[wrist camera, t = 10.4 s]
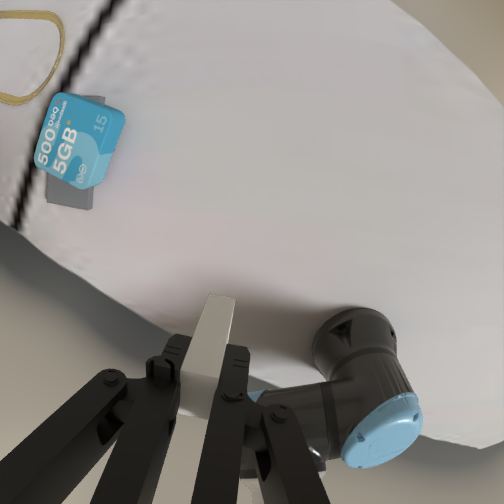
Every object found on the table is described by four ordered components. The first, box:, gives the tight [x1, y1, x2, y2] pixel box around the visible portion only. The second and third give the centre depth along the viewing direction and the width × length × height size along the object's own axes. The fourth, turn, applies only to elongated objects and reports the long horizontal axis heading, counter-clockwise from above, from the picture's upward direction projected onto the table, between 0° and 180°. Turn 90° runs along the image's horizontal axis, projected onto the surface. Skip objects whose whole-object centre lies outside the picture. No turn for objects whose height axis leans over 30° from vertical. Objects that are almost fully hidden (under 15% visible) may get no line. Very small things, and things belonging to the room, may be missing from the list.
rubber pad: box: [47, 96, 105, 210], centre depth 42 cm, size 18×9×2 cm, turn 169°
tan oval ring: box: [0, 11, 65, 105], centre depth 35 cm, size 19×35×2 cm, turn 66°
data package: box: [34, 92, 125, 190], centre depth 38 cm, size 12×4×12 cm
